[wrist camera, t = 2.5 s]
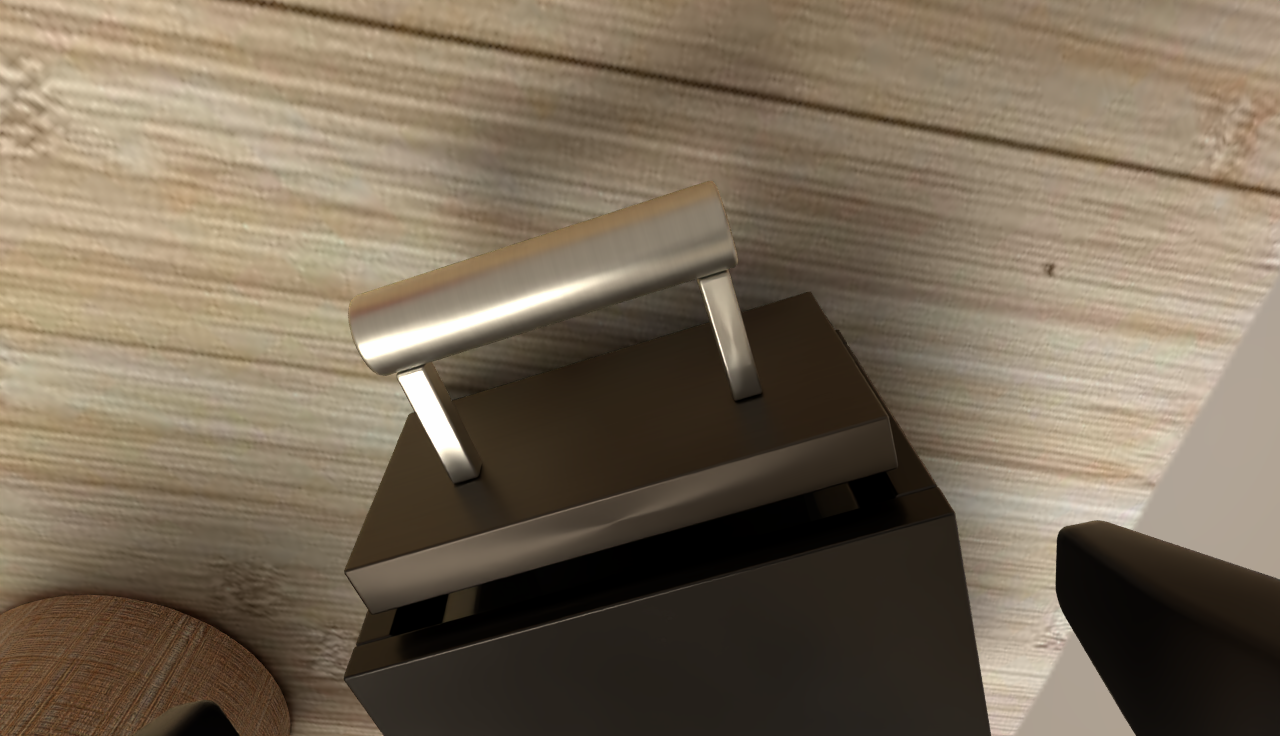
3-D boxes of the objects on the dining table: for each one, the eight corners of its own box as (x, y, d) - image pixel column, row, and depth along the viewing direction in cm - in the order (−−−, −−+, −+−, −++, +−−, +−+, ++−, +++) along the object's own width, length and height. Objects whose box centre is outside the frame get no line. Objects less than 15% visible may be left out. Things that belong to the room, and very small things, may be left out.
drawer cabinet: (422, 453, 22) (342, 678, 15) (838, 328, 20) (955, 512, 14) (587, 760, 28) (584, 1017, 21) (915, 677, 27) (1021, 923, 20)
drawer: (325, 259, 18) (217, 381, 13) (769, 112, 17) (842, 181, 12) (576, 727, 26) (570, 921, 21) (893, 646, 25) (970, 829, 19)
